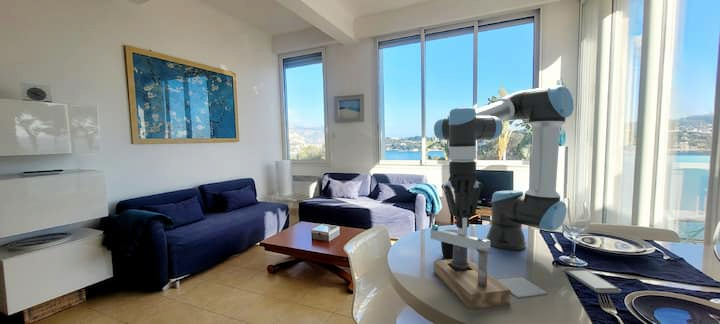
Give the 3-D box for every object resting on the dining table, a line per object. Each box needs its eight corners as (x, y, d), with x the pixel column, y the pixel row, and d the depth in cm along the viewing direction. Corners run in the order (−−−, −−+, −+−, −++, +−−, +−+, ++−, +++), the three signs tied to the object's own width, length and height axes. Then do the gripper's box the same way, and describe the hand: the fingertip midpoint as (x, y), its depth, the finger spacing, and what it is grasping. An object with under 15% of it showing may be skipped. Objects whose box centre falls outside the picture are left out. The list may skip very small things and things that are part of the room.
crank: (492, 250, 81) (492, 236, 81) (487, 254, 79) (487, 239, 78) (434, 236, 93) (434, 223, 93) (429, 239, 91) (429, 226, 91)
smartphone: (583, 268, 100) (622, 290, 85) (583, 271, 100) (622, 294, 85) (562, 268, 100) (597, 290, 85) (562, 271, 100) (597, 294, 85)
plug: (462, 274, 97) (463, 237, 96) (471, 281, 92) (472, 242, 91) (447, 275, 96) (448, 238, 95) (456, 283, 91) (457, 243, 90)
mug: (469, 263, 105) (469, 236, 104) (445, 264, 105) (445, 237, 104) (456, 251, 117) (457, 226, 116) (435, 251, 117) (435, 227, 116)
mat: (521, 278, 94) (521, 276, 94) (547, 294, 84) (547, 292, 84) (494, 281, 92) (494, 280, 92) (517, 298, 82) (517, 296, 82)
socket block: (465, 268, 101) (466, 230, 100) (510, 303, 80) (511, 255, 79) (434, 272, 99) (434, 233, 98) (470, 308, 77) (472, 259, 76)
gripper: (474, 159, 91) (474, 232, 93) (436, 160, 88) (437, 236, 90) (489, 160, 83) (489, 240, 85) (449, 162, 81) (449, 244, 83)
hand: (462, 237), depth 88 cm, fingers closed
